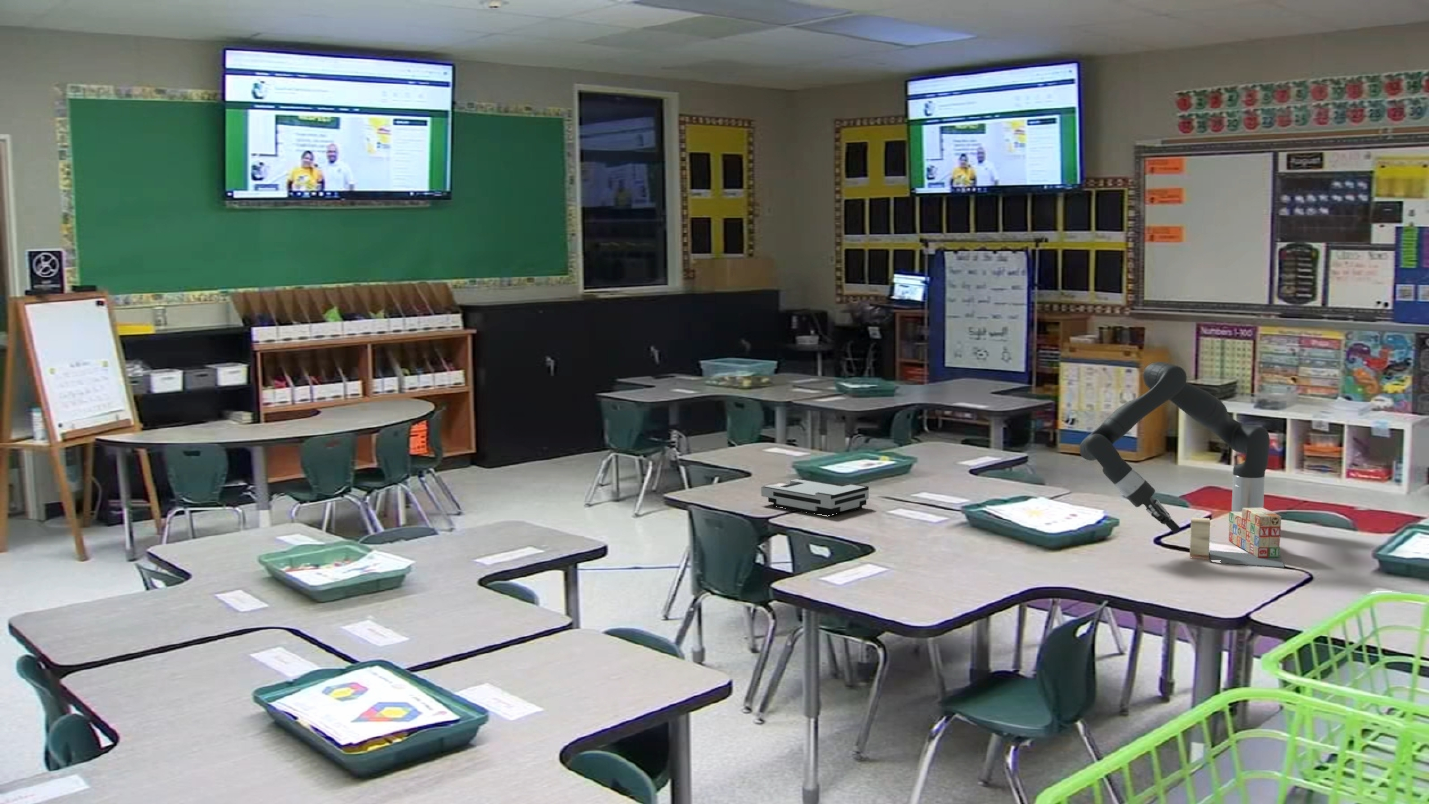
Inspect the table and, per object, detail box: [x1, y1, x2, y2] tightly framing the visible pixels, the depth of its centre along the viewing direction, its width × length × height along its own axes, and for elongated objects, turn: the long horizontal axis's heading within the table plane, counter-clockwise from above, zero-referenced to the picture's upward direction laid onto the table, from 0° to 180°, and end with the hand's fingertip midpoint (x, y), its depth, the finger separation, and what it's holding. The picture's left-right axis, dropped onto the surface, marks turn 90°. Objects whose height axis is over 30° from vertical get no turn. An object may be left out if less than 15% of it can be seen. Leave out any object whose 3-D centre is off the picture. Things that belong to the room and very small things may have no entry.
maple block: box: [1189, 516, 1211, 560], centre depth 351 cm, size 5×5×11 cm
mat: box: [1209, 550, 1285, 569], centre depth 348 cm, size 13×19×1 cm
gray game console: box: [760, 478, 870, 516], centre depth 427 cm, size 21×32×8 cm, turn 45°
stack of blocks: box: [1228, 507, 1282, 557], centre depth 358 cm, size 21×6×12 cm, turn 179°
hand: (1177, 530), depth 353 cm, fingers closed
